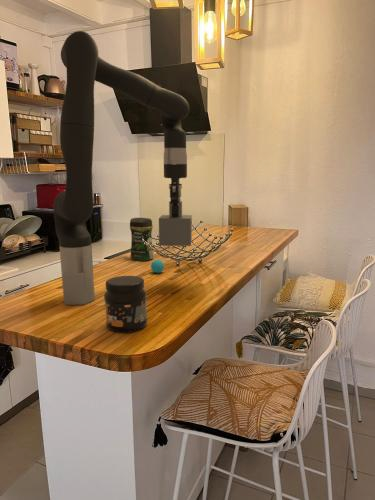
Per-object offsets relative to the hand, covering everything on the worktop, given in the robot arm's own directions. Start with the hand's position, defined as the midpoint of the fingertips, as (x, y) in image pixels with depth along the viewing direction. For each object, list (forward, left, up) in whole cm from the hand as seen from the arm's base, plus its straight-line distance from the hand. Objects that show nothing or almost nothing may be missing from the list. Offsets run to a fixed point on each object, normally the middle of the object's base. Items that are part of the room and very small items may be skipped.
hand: (175, 215), depth 130 cm
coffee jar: (+40, +17, -24) cm, 50 cm away
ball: (+17, +8, -21) cm, 28 cm away
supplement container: (-35, +11, -24) cm, 44 cm away
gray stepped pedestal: (0, 0, -9) cm, 9 cm away
